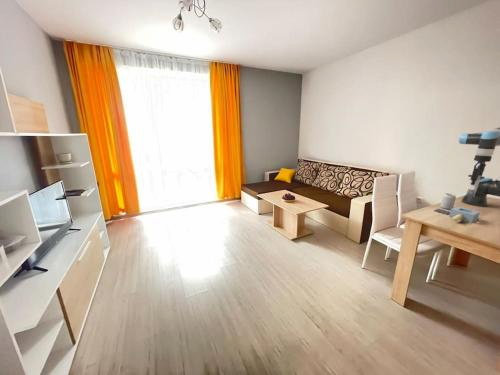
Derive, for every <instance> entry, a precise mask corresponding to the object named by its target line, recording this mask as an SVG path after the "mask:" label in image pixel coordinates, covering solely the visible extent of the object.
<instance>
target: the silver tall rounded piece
mask: <svg viewBox="0 0 500 375" xmlns="http://www.w3.org/2000/svg"><path fill="white" fill-rule="evenodd" d="M467 176H468V178H469V177H470V178H471V176H472V174H468V175H467ZM484 178H486V177H485V176H483V175H482V176H478V179H477V183H476V186H475V189H474V190H472V189H469V186H470V183H471V181H470V182H469V185H468V189H467V192H466V193H465V195H466V196H468V197H474V196H475V193H476V190H477V187H478V185H479V182H480V179H484Z"/></svg>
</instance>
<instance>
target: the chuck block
mask: <svg viewBox="0 0 500 375" xmlns="http://www.w3.org/2000/svg"><path fill="white" fill-rule="evenodd" d="M449 212H450V214H448V217H449V218H452V220H453V221H454V222H455V221H456V222H458V221H459V220H460V221H462V222H466V223H471V224H472V223H474V222H475V221H477V220H479V217H480V214H481V211H478V210H475V209H470V208H466V207H462V206H457V205H456V206H455V207H453V208H452V209H450V211H449Z"/></svg>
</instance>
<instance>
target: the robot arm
mask: <svg viewBox="0 0 500 375" xmlns="http://www.w3.org/2000/svg"><path fill="white" fill-rule="evenodd" d="M458 144H460V145H476V146H478V147H477V149H475V155H474V158H473V161H475V162H477V163H475V165H474V166H473V170H472V174H471V175H472V176H471V177H470V178H469V181H470V182H471V183H470V182H469V185H470V186H469V185H468V188H469V189H472V190H474V189H475V186H476V183H477V179H478V176H482V177H483V174H484V171H485V169H486V166H487V164H486V163H487V162H488V163H491V161H492V157H493V155H494V153H495V149H496V147H498V146H500V127H494V128H491V129H489V130H486V131H485V130H484V131H482V132H480V131H479V132H474V133H462V134H461V135H460V136H459V138H458ZM488 195H489V196H493V197H499V198H500V176H499V177H498V178H495V180H494V179H493V177H492V178H491V177H485V178H484V179H480V182H479V185H478V187H477V190H476V193H475V196H474V197H468V196H466V194H465V195H464V196H463V197H462V198H461V202H462V203H464V204H467V205H469V206H470V205H471V206H476V207H487V205H488V199H487V196H488Z"/></svg>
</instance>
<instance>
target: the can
mask: <svg viewBox="0 0 500 375" xmlns="http://www.w3.org/2000/svg"><path fill="white" fill-rule="evenodd" d="M456 199H457V197H456V194H453V193H449V192H448V193H444V194H443V196H442V199H441V203H440V206H439V207H441V209H443V210H448V211H449V210H450V211H451V209H452V208H454V205H455V202H456Z"/></svg>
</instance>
